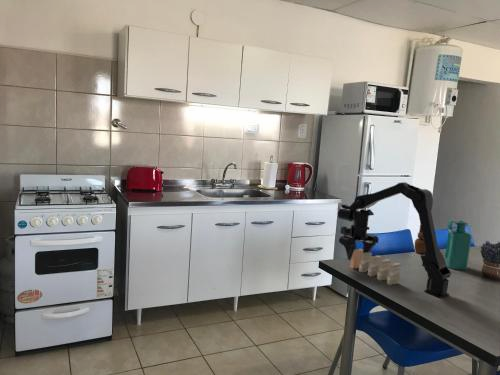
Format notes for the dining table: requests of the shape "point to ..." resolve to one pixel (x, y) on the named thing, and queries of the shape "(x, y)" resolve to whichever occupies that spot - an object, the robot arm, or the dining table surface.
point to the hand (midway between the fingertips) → (356, 258)
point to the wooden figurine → (419, 243)
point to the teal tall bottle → (457, 246)
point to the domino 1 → (356, 258)
